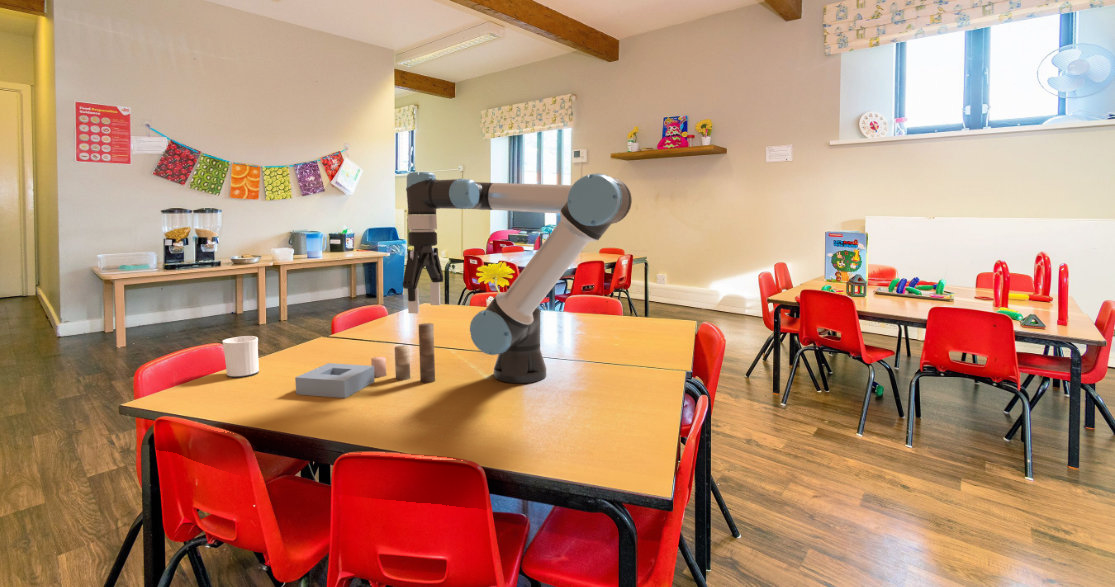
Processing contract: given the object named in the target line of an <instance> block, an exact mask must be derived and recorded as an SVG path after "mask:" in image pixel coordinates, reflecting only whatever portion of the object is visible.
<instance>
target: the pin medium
mask: <svg viewBox="0 0 1115 587" xmlns="http://www.w3.org/2000/svg"><path fill="white" fill-rule="evenodd" d="M410 357H411V356H410V346H409V345H396V346H394V363H395V364H394V367H395V380H397V381H405V380H406V381H407V380H409V379H411V363H410V362H411V360H410V359H411V358H410Z"/></svg>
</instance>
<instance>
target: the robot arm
mask: <svg viewBox="0 0 1115 587" xmlns="http://www.w3.org/2000/svg"><path fill="white" fill-rule="evenodd" d="M405 192H406V202H407V203H406V204H407V219H406V221H407V228H408V230H409V232H408V233H407V234H408V235H407V236H408V245H409V246H410V247H413V250H411V249H409V250H407V253H406V254H407V256H406V257H407V258H406V264H405V270H404V275H403V279H402V280H403V281H402V287H403V289H406V290H407V305H408V307H407V309H408V312H407V313H408V314H415V315H416V314H418V315H419V314H420V300H419V299H420V295H419V292H420V291H419V288H418V284H419V282H420V278H421V275H422V271H423V269H424V268H425V269H426V271H427V274H428V275H429V278H430V282H429V293H430V296H429V297H430V306H441V283H444V273H443V270H442V266H441V261H440V257H439V249H438V247H434V246H437V244H438V233H437V232H436V230H438V222H437V210H438V209H447V210H453V209H454V210H455V209H456V210H458V209H459V210H481V211H487V210H488V211H505V212H506V211H509V212H525V213H528V212H529V213H545V214H546V213H547V214H560V221H559V222H558V224H557V225H556V226H555V227H554V229H553V230H552V232H550V234H549V235H548V236H547V238H546V239H545V240H544V242H543V243H542V245H540V247H538V250H537V251H536V252H535V254H534V255H533V256H532V257H531V259H529V261H528V262H527V264H526V265H525V267H523V269H522V270H521V272H520V273H519V275H518V276H517V277H516V279H515V280H514V281H513V282H512V283H511V285H510V286H509V288H508V289H507V290H506V291H505V292H498V293H497V294H496V295H495V296H494V298H493V299H492V300H491V301H490V303H489V304H488V306H487V307H486V308H485V309H483V310H480V311H478V312H477V313H476V314H475V315H474V316H473V317H472V319H471V321H470V324H469V325H470V326H469V333H470V338H471V340H472V342H473V344H474V346H475V347H476V348H477V349H478V350H479V351H480V352H482V353H484V354H486V355H490V356H491V355H492V356H494V355H496V356H497V358H496V361H495V364H494V368H493V378H494V379H495V380H497V381H499V382H503V383H509V384H526V383H527V384H528V383H534V382H535V383H536V382H539V381H542V380H544V379H545V378H546V377H547V366H546V362H545V360H544V357H543V354H542V350H541V312H542V309H541V304H542V301H543V300H544V299H545V298H546V297H547V295H548V294H549V293H550V291H552V289H553V288H554V287H555V285H557V283H558V282H559V280H560V279H561V278H562V277H563V275H564V274H565V273H566V271H567V270H568V269H569V267H570V266H571V265H572V264H573V263H574V262H575V260H576V259H577V258H578V257H579V255H580V254H581V253H582V251H583V250H584V249H585V247H586V246H587V245H588V244H589V243H590V242H596V241H597V242H598V241H599V240H600V239H601V238H602V237H603V235H604V234H605V233H606V232H607V230H608V229H609V228H610V226H611V225H613V224H617V223H618V222H619V223H620V221H622V220H624V218H625V217H627V215H628V214H629V212H630V210H631V208H632V207H631V206H632V200H633V199H632V198H633V197H632V194H631V193H632V192H631V190H630V189H629V186H627V185H626V183H625V182H623V181H622V180H621V179H618V178H616V177H612V176H609V175H607V174H603V173H591V174H586V175H584V176H582V177H580V178H578V179H577V180H576V181H575V182H574V183H573V184H572V185H571V184H545V183H542V184H541V183H538V184H537V183H513V182H511V183H509V182H483V181H482V182H481V181H480V182H479V181H475V180H473V179H469V178H468V179H467V178H456V179H455V178H452V179H437V178H436V174H435V173H434V172H429V171H428V172H427V171H411V172H408V173H407V175H406V187H405Z"/></svg>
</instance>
